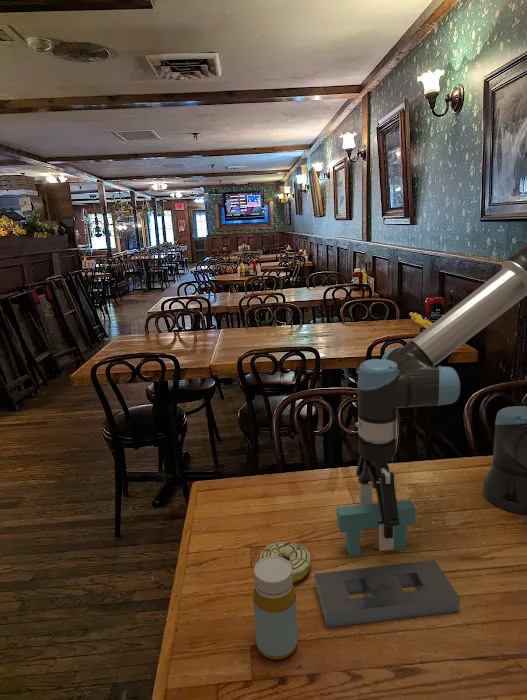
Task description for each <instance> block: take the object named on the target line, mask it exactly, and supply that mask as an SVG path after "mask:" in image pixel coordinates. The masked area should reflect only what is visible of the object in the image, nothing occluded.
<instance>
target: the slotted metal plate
mask: <svg viewBox="0 0 527 700" xmlns="http://www.w3.org/2000/svg"><path fill="white" fill-rule="evenodd" d="M314 587H315V591H316V595H317V598H318V603H319V605H320V609H321V612H322V615H323V619H324V622H325V627H326V629H328V628H329V629H330V628H339V627H345V626H354V625H361V624H371V623H379V622H387V621H396V620H403V619H410V618H417V617H426V616H427V617H428V616H434V615H436V616H437V615H443V614H450V613H452V614H453V613H459V612H460V600H461V598H460V596H459V594H458V593H457V591H456V590H455V588H454V586H453V585H452V583H450V581H449V579H448V578H447V576H446V575H445V573H444V572H443V569H442V568H441V567H440V564H438V562H437V561H436V559H430V560H423V561H415V562H414V561H413V562H406V563H397V564H387V565H377V566H370V567H369V566H368V567H361V568H353V569H344V570H336V571H335V570H334V571H326V572H317V573H314ZM406 587H416V589H417V590H413V591H405V590H404V588H406ZM363 592H364V593H365V596H363V597H355V598H351V596H350V594H353V593H354V594H355V593H363Z"/></svg>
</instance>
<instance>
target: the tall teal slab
mask: <svg viewBox="0 0 527 700" xmlns="http://www.w3.org/2000/svg"><path fill="white" fill-rule="evenodd" d="M396 501H397V509H398V516H399V522H400V523H399V525H398V526H394V550H393V551H395V552H401V551H406V550H407V538H408V537H407V530H408V526H414V525H416V506H415V505H414V503H413V501H412V500H411V499H405V500H396ZM380 520H381V514H380V509H379V504H378V502H375V503H373V502H372V504H364V505H359V504H357V505H349V506H348V505H346V506H345V505H344V506H336V525H337V527H338V530H339V532H340V533H345V535H344V537H345V539H344V541H345V544H344V545H345V550H346V552H347V554H348V557H354V556H361V531H365V530H374V529H375V530H376V529H379V523H378V521H380Z"/></svg>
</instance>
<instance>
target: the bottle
mask: <svg viewBox="0 0 527 700" xmlns="http://www.w3.org/2000/svg"><path fill="white" fill-rule="evenodd" d="M253 576H254V580H253V581H254V588H253V592H252V600H253V601H252V602H253V604H252V605H253V615H254V617H253V618H254V630H255V643H256V648H257V650H258V652H259V653H260V654H261V655H262V656H264V657H266V658H268V659H270V660H277V661H279V660H283V659H286V658H287V657H289V656H291V655H292V654H293V653H294V652H295V651H296V649H297V646H298V639H299V638H298V637H299V636H298V614H297V610H298V609H297V594H296V593H297V591H296V588H295V585H294V583H293V582H292V581H293V576H292V566H291V564H290V563H289V561H288V560H286V559H284V558H282V557H278V556H270V557H266V558H263V559H261V560H260V561H259V560H258V561H257V562H256V564H255V565H254V568H253Z"/></svg>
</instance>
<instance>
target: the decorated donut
mask: <svg viewBox="0 0 527 700" xmlns="http://www.w3.org/2000/svg"><path fill="white" fill-rule="evenodd" d="M270 556H278V557H282V558H284V559H286V560H288V561H289V563H290V564H291V566H292V576H293V581H292V582H293V584H295V583H298V582H300V581H301V580H302V579H304V578H305V577H306V576H307V575H308V573H309V571H310V568H311V565H312V563H311V561H312V558H311V553H310V552H309V551H308V549H307V548H305V547H304V546H302V545H300V544H298V543H296V542H293V541H278V542H277V541H276V542H272V543H269V544H268V545H266V546H265V547H264V548H263V550H262V551H261V553H260V554H259V559H258V561H260V560H261V559H263V558H266V557H270Z"/></svg>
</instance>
